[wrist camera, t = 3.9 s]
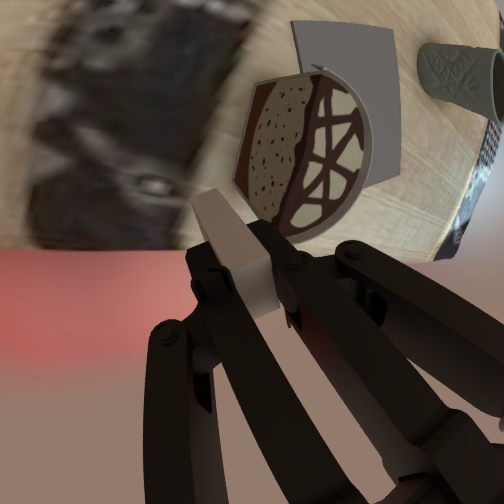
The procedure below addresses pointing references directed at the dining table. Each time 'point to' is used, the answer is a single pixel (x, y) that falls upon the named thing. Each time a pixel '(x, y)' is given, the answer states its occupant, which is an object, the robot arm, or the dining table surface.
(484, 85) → the grey green cup
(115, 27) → the dining table surface
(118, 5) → the dining table surface
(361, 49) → the mat
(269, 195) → the food container
